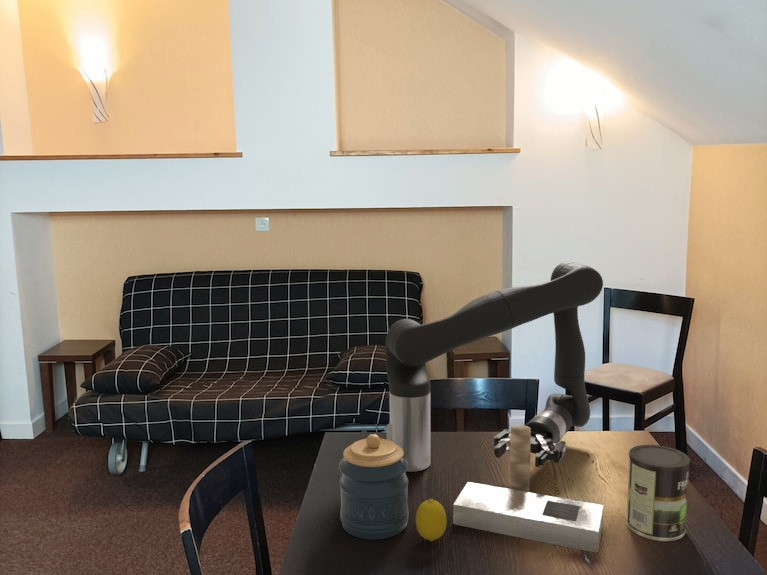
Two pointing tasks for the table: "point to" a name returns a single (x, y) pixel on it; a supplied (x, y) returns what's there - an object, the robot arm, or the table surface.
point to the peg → (520, 458)
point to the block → (530, 516)
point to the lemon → (431, 520)
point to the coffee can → (657, 492)
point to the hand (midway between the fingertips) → (516, 457)
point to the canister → (374, 489)
